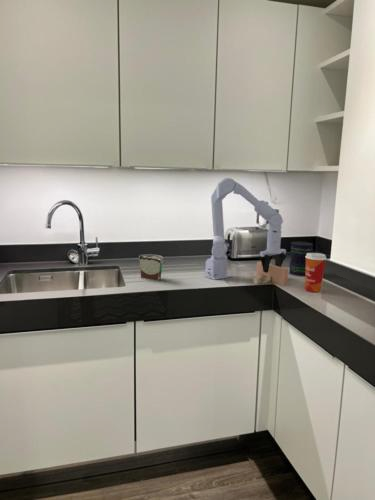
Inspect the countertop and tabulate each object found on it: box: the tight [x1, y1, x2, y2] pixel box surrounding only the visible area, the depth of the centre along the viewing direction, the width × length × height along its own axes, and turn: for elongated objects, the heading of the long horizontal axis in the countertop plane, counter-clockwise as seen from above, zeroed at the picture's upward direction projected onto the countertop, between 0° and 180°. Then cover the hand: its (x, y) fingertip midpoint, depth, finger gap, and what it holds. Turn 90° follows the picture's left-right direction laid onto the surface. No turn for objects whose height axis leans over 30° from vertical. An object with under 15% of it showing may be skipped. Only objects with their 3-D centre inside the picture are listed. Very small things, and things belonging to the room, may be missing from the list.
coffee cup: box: [304, 252, 327, 294], centre depth 152 cm, size 8×8×15 cm
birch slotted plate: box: [252, 274, 289, 285], centre depth 166 cm, size 20×2×3 cm, turn 125°
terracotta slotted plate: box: [255, 261, 289, 286], centre depth 165 cm, size 16×2×7 cm, turn 35°
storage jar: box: [288, 240, 314, 277], centre depth 179 cm, size 10×10×15 cm
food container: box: [138, 253, 165, 282], centre depth 164 cm, size 12×6×10 cm, turn 59°
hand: (271, 271), depth 165 cm, fingers open, 7 cm apart
